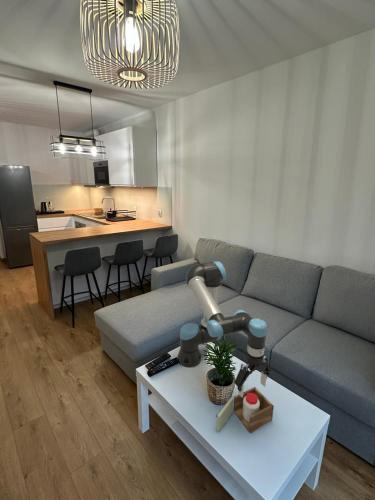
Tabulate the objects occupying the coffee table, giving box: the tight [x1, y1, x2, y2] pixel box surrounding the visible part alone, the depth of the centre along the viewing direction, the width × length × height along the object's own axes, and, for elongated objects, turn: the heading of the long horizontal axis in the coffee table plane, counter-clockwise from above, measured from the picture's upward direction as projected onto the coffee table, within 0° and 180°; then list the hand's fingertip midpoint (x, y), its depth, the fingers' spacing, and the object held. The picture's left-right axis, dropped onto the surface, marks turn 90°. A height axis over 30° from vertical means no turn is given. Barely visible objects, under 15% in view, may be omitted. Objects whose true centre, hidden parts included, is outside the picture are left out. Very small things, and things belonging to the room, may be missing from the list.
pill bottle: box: [242, 393, 260, 422], centre depth 126 cm, size 8×8×11 cm
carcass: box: [232, 386, 275, 434], centre depth 127 cm, size 13×14×9 cm
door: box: [215, 396, 234, 432], centre depth 125 cm, size 13×2×9 cm, turn 142°
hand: (251, 389), depth 124 cm, fingers open, 13 cm apart
